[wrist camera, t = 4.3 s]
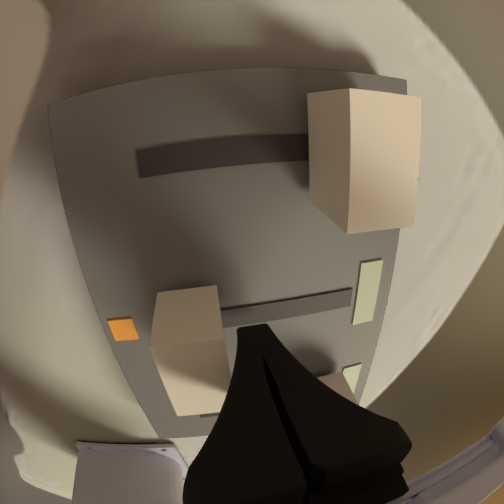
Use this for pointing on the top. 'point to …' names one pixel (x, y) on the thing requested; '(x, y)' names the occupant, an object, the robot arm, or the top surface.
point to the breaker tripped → (191, 349)
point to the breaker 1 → (339, 385)
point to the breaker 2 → (364, 157)
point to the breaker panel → (217, 220)
